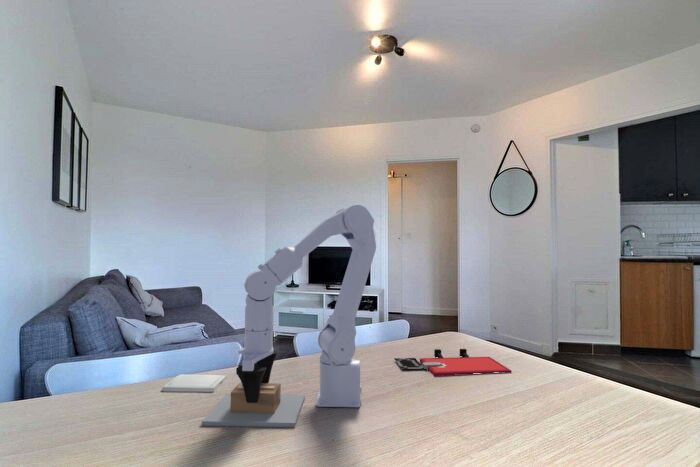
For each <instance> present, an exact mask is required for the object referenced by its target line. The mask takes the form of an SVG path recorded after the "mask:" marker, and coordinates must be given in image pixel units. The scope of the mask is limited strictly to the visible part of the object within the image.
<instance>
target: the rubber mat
mask: <svg viewBox="0 0 700 467" xmlns="http://www.w3.org/2000/svg"><path fill="white" fill-rule="evenodd" d="M305 396H306V395H304V394H303V395H300V394H299V395H298V394H295V395H293V394H288V395H287V394H281V395H280V404H279V406H278V408H277V410H276V411H275V413H274V414H268V413H232V412H230V405H231V393H228V394H227V393H225V394H224V396H223V397H222V398H221V399H220V400H219V401H218V402H217V404H216V405H215V406H214V407H213V408H212V409H211V410H210V412H208V413H207V415H206V416H205V417H204V418H203V419H202V421H201V426H208V427H212V426H213V427H214V426H216V427H261V428H262V427H263V428H264V427H265V428H266V427H268V428H269V427H270V428H271V427H272V428H273V427H274V428H296V427H297V426H296V425H297V423H298V420H299V417H300V413H301V411H302V409H303V408H302V407H303V405H304V402H305Z"/></svg>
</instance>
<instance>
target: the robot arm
mask: <svg viewBox="0 0 700 467" xmlns="http://www.w3.org/2000/svg"><path fill="white" fill-rule="evenodd" d="M374 223H375V219H374V218H373V216H372V215H371V213H370V211H369V209H367V207H365V206H364V205H361V204H353V205H350V206H349V207H346V208H340V209H338V210H337V211H336V212H335V213H334V214H331V215H329V216H328V217H327V218H325V219H324V220H323V221H321V222H320V223H319V224H318V225H317V226H316V227H315V228H313V229H312V230H311V231H310V232H309V233H308V234H307V235H306V236H305V237H303V238H302V239H301V240H300V241H299V242H298V243H297V244H295V245H294V246H292V247H291V246H283V248H281V247H279V248H278V247H277V249H276V250H275V251H274V253H275V254H274V255H273V256H272V257H271V258H269V259H268V260H267V261H266V262H264V263H263V264H262V263H260V264H258V266H257V268H258V269H259V270H257V271H253V272H251V273H249V274H248V275H247V277H246V279H245V282H244V285H243V286H244V289H245V292H246V293H247V294H246V297H245V308H244V347H241V348H239V349H238V354H240V355H243V360H242V363H241V364H242V365H240V364H239V365H238V366H237V367H236V370H235V372H236V375H237V377H238V378H239V380H240V383H242V385H243V389H244V393H245V398H246V401H247V403H257V402H258V399H259V395H260V388H261V383H270V379H271V373H272V368H273V364H274V362H275V360H276V358H277V355H278V351H277V350H274V345H273V339H274V337H273V336H274V334H273V333H274V332H273V329H274V328H273V327H274V305H273V295H274V294H275V292H276V290H277V289H276V288H277V286H281V285H282V284H283V283H285V282H286V281H287V280H288V279H289V278H290V277H292V276H293V275H294V274H295V273H297V271H299V270H300V269H301V268H302V266H303V260H304V258H305V257H306V256H307V255H309V254H310V253H311V252H313V251H314V250H315V249H316V248H317V247H319V246H320V245H322V244H323V243H324V242H325V241H326V240H328V239H329V238H330V237H332V236H337V235H341V236H343V237H344V238H345V239H346V242H347V243H348V245H349V246H350V248H351V249H352V251H351V254H350V257H349V260H348V264H347V267H346V270H345V273H344V276H343V280H342V283H341V287H340V290H339V293H338V296H337V299H336V302H335V306H334V310H333V312H332V314H331V315H330V316H329V318H328V319H327V321H326V324H325V325H324V327H323V328H322V329H321V331H319V333H318V336H317V344H318V346H319V348H320V349H321V351H322V352H321V354H320V356H319V391H318V395H317V398H316V402H315V406H316V407H318V408H320V407H322V408H323V407H324V408H326V407H327V408H330V407H331V408H360V407H361V395H362V388H363V387H362V384H361V360H360V359H355V358H353V357H354V356H355V352H356V340H355V339H356V335H357V328H356V322H355V321H356V317H357V313H358V311H359V307H360V304H361V302H362V297H363V293H364V291H365V287H366V284H367V280H368V277H369V273H370V270H371V267H372V264H373V261H374V260H373V259H374V257H375V253H376V250H377V243H376V242H377V241H376V237H375V236H376V235H375V231H374V230H375V229H374Z"/></svg>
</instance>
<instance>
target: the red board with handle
mask: <svg viewBox="0 0 700 467" xmlns="http://www.w3.org/2000/svg"><path fill="white" fill-rule="evenodd" d="M433 352H434V355H433V356H435V357H438V358H433V357H428V358H419V361H418V360H417V358H415V357H401V358H399V357H398V358H394V360H395V362H396V363H397V364H398V366H399V367H400V369H401V370H407V369H408V370H410V369H412V370H413V369H415V370H416V369H419V370H420V369H423V368H424V369H428V370H429V371H430V372H431V373H432V374H433V375H434V376H433V375H432V374H431V373H430V372H429V371H428V370H427V371H428V372H429V373H430V374H431V375H432V376H433V377H443V376H442V375H453V376H456V375H455V374H473V373H493V372H512V370H511V369H509V368H508V367H506V366H505V365H504V364H502V363H500V362H499V361H497V360H495V359H494V358H492V357H490V356H469V354H468V353H467V352H468V350H467V349H466V348H460V349H459V357H444V356H443V355H442V349H440V348H439V349H438V348H436V349H434V350H433ZM460 356H464V357H460ZM424 369H423V370H424Z"/></svg>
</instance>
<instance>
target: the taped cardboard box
mask: <svg viewBox="0 0 700 467" xmlns="http://www.w3.org/2000/svg"><path fill="white" fill-rule="evenodd" d="M281 385H282V384H281V383H279V382H277V383H271V382H269V383H261V388H260V395H259V399H258V402H257V403H247V401H246V398H245V393H244V389H243V385H242V382H239V383H238V384H237V385H236V386H234V388H233V390H231V391H230V394H231V405H230V412H232V413H268V414H274V413H275V411H276V410H277V408H278V406H279V404H280V395H282V394H281V389H282V388H281V387H282V386H281Z"/></svg>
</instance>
